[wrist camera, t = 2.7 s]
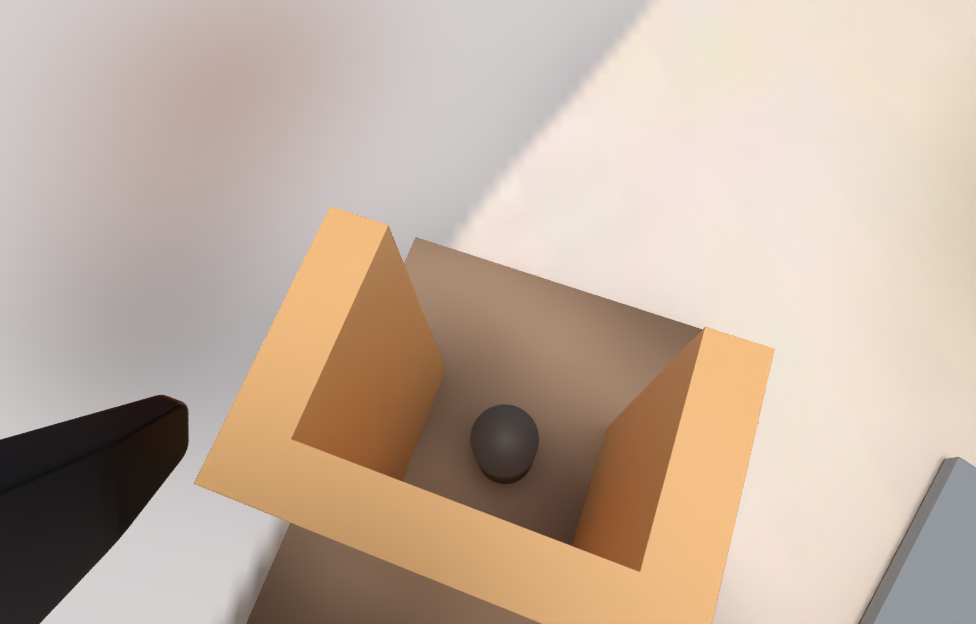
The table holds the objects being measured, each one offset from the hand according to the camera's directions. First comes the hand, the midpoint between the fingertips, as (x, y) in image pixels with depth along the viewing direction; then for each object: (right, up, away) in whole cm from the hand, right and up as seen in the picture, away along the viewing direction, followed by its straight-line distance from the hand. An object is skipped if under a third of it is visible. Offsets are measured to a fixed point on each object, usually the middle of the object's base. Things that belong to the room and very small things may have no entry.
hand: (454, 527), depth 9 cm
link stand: (+1, -2, +9) cm, 9 cm away
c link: (+1, -1, +9) cm, 9 cm away
